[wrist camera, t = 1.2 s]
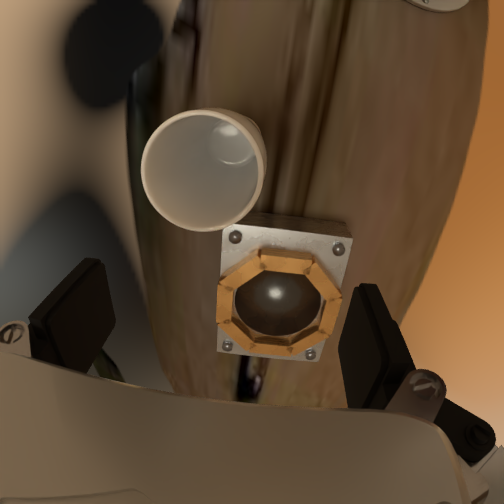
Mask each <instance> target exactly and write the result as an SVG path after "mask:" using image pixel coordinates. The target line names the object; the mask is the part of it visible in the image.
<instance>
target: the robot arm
mask: <svg viewBox="0 0 504 504" xmlns="http://www.w3.org/2000/svg"><path fill="white" fill-rule="evenodd" d="M406 1H408V2H410V3H411V4H413V5H415V6H418V7H420V8H423V9H425V10H429V11H433V12H443V13H444V12H452V11H454V10H457V9H460V8H461V7H463V6H465V5H466V4H467V3H468V2H469V0H406ZM28 318H29V320H30V324H29V325H27V324H26V323H25V322H22V321H11V322H9V323H6V324H5V325H3V326H2V327H1V328H0V504H504V448H503V446H502V445H501V446H500V447H499V448H498V447H497V446H496V445H495V441H496V437H495V433H494V430H493V428H492V427H491V426H490V425H489V424H488V423H487V422H485V421H484V420H482V419H480V418H479V417H477V416H475V415H474V414H472V413H470V412H468V411H467V410H465V409H463V408H462V407H460V406H458V405H457V404H455V403H453V402H452V401H450V400H448V399H447V398H445V396H446V391H447V390H446V385H445V383H444V381H443V380H442V379H441V378H440V376H439V375H437V374H436V373H434V372H432V371H429V370H426V369H416V368H415V365H414V363H413V360H412V358H411V355H410V353H409V350H408V348H407V346H406V343H405V341H404V338H403V336H402V334H401V331H400V329H399V327H398V324H397V323H396V321H394V320H392V318H391V315H390V313H389V311H388V308H387V306H386V304H385V302H384V300H383V297H382V295H381V293H380V291H379V289H378V286H377V285H376V284H367V283H361V284H360V285H359V287H355V288H354V291H353V295H352V298H351V302H350V306H349V309H348V313H347V317H346V320H345V324H344V327H343V331H342V334H341V337H340V341H339V345H338V353H339V358H340V363H341V369H342V375H343V380H344V386H345V392H346V398H347V404H348V408H314V407H294V406H277V405H263V404H252V403H242V402H233V401H224V400H216V399H209V398H202V397H195V396H189V395H182V394H176V393H171V392H165V391H159V390H154V389H150V388H144V387H140V386H135V385H130V384H126V383H122V382H117V381H113V380H109V379H105V378H101V377H97V376H93V375H90V374H87V372H88V370H89V368H90V367H91V365H92V363H93V361H94V360H95V358H96V356H97V355H98V353H99V351H100V350H101V348H102V346H103V345H104V343H105V341H106V340H107V338H108V336H109V335H110V333H111V332H112V330H113V328H114V326H115V322H116V319H115V314H114V310H113V305H112V301H111V296H110V291H109V286H108V281H107V275H106V270H105V265H104V264H103V263H101V261H100V260H99V259H95V258H85V259H84V260H82V261H81V263H79V264H78V265H77V266H76V267H75V268H74V269H73V270H72V271H71V272H70V274H68V275H67V276H66V277H65V278H64V279H63V280H62V281H61V282H60V284H59V285H58V286H57V287H56V288H55V289H54V290H53V291H52V292H51V293H50V294H49V295H48V296H47V297H46V298H45V299H44V300H43V301H42V303H41V304H40V305H39V306H38V307H37V308H36V309H35V310H34V311H33V312H32V313H31V315H30V316H29V317H28Z"/></svg>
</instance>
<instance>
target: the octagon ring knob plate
mask: <svg viewBox="0 0 504 504" xmlns="http://www.w3.org/2000/svg"><path fill="white" fill-rule="evenodd" d="M352 241H353V237H352V235H351V233H350V231H349V230H348V228H347V226H346V224H345V223H342V222H335V221H327V220H320V219H313V218H305V217H297V216H289V215H281V214H273V213H264V212H255V211H249V212H248V213H247V214H246V215H245V216H244V217H243V218H242V219H241V220H239V221H238V222H236V223H234V224H233V225H231V226H229V227H226V228H223V237H222V254H221V272H220V279H219V283H218V291H217V314H216V322H217V323H218V324H217V325H218V337H217V351H218V352H225V353H232V354H240V355H249V356H257V357H267V358H277V359H288V360H299V361H313V362H318V361H319V358H320V355H321V352H322V349H323V346H324V342H325V339H326V338H328V337H329V334H332V331H333V328H334V325H335V322H336V318H337V315H338V312H339V309H340V305H341V302H342V295H341V291H340V288H341V285H342V281H343V277H344V273H345V270H346V266H347V262H348V258H349V254H350V250H351V246H352Z"/></svg>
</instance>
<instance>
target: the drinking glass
mask: <svg viewBox="0 0 504 504" xmlns="http://www.w3.org/2000/svg"><path fill="white" fill-rule="evenodd" d="M266 171H267V151H266V146H265V143H264V140H263V138H262V134H261V131H260V129H259V127H258V126H257V124H256V123H255V122H254V121H253V120H251V119H250V118H248V117H246V116H244V115H241V114H239V113H237V112H235V111H232V110H229V109H224V108H217V107H207V108H199V109H194V110H190V111H186V112H183V113H180V114H177V115H175V116H173V117H171V118H170V119H168V120H166V121H165V122H164V123H163V124H161V125H160V126H159V127H158V128H157V129H156V130H155V131H154V133H153V134H152V135H151V137H150V139H149V140H148V142H147V144H146V146H145V149H144V152H143V156H142V162H141V177H142V183H143V187H144V190H145V192H146V195H147V197H148V199H149V200H150V202H151V204H152V205H153V206H154V208H155V209H156V210H157V211H158V212H159V213H160V214H161V215H162V216H163V217H164V218H165V219H167V220H168V221H170V222H171V223H173V224H175V225H177V226H179V227H182V228H184V229H188V230H192V231H200V232H209V231H216V230H220V229H223V228H226V227H229V226H231V225H233V224H234V223H236V222H238V221H239V220H241V219H242V218H243V217H244V216H245V215H246V214H247V213H248V212H249V211H250V210H251V209H252V207H253V206H254V204H255V203H256V201H257V199H258V197H259V195H260V192H261V189H262V187H263V184H264V180H265V176H266Z"/></svg>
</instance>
